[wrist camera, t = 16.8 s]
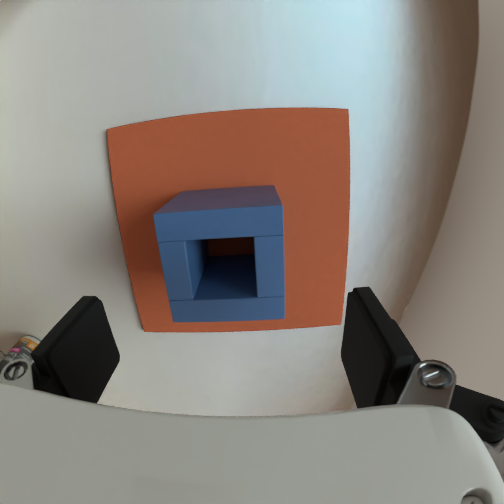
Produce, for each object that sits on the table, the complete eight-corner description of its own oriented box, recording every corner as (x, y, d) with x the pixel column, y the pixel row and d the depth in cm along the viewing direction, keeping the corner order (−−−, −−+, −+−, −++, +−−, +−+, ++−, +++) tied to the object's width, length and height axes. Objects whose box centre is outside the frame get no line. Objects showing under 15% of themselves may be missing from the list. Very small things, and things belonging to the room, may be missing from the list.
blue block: (274, 184, 19) (283, 205, 13) (277, 271, 21) (285, 319, 15) (181, 191, 19) (152, 214, 13) (192, 275, 21) (172, 322, 16)
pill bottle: (51, 340, 25) (3, 405, 15) (65, 378, 27) (28, 442, 17) (15, 328, 24) (-33, 383, 15) (30, 366, 26) (-9, 421, 17)
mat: (346, 109, 17) (348, 108, 17) (340, 321, 23) (341, 324, 23) (109, 129, 18) (106, 129, 17) (145, 329, 24) (144, 331, 23)
